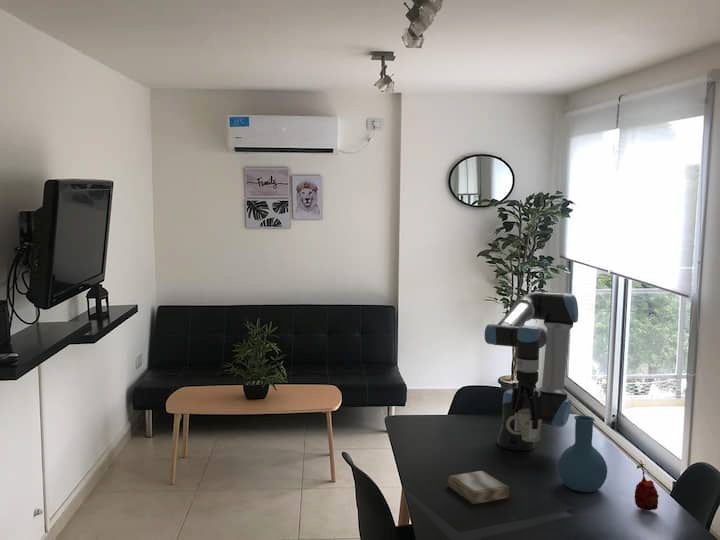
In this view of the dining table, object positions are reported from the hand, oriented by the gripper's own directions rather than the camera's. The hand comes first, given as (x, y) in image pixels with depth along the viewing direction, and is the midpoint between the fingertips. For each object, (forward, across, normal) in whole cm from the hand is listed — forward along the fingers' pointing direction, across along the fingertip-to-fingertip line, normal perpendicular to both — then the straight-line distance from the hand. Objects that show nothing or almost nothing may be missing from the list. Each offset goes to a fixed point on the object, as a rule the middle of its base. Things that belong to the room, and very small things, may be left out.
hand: (525, 434), depth 230 cm
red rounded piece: (+19, +29, +27) cm, 44 cm away
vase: (+19, +8, +19) cm, 28 cm away
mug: (+2, 0, 0) cm, 2 cm away
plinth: (+19, -2, -18) cm, 26 cm away
